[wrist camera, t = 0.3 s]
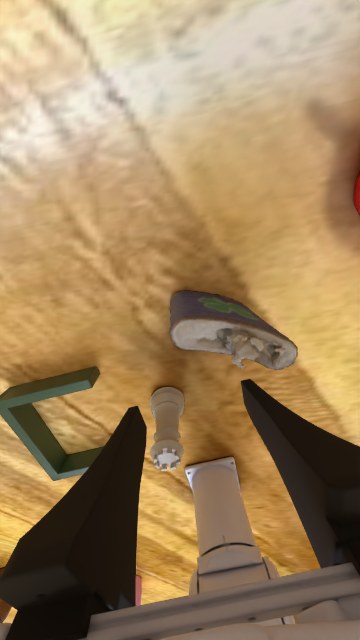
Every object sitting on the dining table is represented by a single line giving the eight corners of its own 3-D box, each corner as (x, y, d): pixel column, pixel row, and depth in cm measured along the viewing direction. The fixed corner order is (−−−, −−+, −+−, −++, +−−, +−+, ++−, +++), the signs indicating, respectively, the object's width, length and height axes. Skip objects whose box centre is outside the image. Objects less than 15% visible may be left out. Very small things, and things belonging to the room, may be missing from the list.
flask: (167, 309, 20) (165, 363, 10) (174, 283, 19) (178, 314, 9) (244, 327, 21) (310, 391, 11) (254, 303, 20) (335, 350, 10)
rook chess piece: (175, 414, 25) (178, 481, 18) (145, 405, 25) (135, 472, 17) (189, 390, 24) (199, 452, 17) (158, 380, 23) (153, 440, 16)
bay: (134, 445, 27) (131, 463, 25) (63, 461, 27) (53, 481, 25) (96, 366, 22) (87, 379, 20) (9, 387, 22) (-10, 403, 20)
